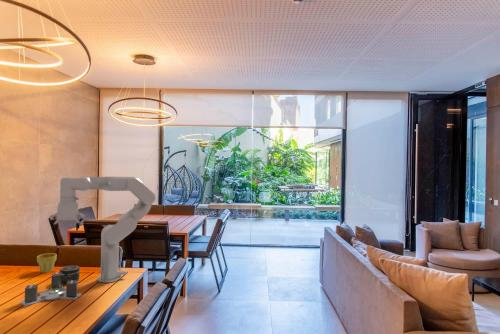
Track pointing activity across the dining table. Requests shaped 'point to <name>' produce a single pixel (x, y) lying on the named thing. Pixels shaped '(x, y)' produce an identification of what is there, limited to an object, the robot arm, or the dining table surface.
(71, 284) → the knob
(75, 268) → the jar
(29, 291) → the knob
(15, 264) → the dining table surface
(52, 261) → the plant pot
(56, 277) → the knob
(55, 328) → the dining table surface
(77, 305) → the dining table surface
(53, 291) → the tribrach base
